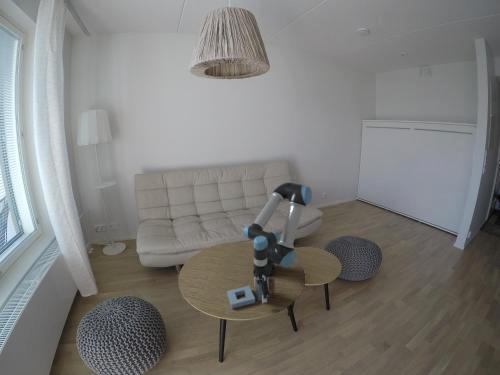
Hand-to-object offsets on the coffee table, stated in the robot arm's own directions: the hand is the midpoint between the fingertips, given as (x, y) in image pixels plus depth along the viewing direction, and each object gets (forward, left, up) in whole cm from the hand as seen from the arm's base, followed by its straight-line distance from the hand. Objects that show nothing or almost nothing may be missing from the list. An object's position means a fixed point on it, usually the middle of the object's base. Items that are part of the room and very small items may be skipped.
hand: (260, 293), depth 140 cm
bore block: (+11, -4, -4) cm, 12 cm away
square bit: (0, 0, -4) cm, 4 cm away
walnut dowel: (-7, 0, -4) cm, 8 cm away
